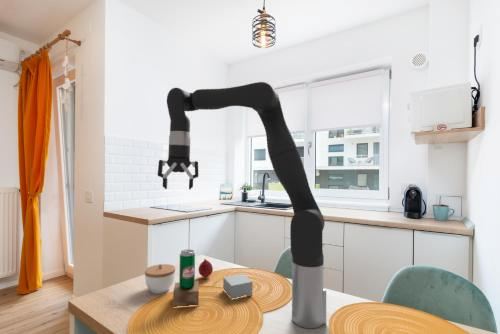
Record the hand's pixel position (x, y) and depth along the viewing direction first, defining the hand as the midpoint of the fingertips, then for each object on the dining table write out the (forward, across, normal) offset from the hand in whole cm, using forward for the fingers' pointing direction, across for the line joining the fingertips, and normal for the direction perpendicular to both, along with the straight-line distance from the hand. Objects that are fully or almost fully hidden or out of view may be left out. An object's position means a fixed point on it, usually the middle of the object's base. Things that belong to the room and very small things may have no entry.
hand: (178, 189), depth 96 cm
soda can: (+33, +4, -7) cm, 34 cm away
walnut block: (+38, +4, -7) cm, 39 cm away
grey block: (+37, +22, -4) cm, 44 cm away
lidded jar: (+38, -5, +4) cm, 39 cm away
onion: (+38, +12, +12) cm, 41 cm away
